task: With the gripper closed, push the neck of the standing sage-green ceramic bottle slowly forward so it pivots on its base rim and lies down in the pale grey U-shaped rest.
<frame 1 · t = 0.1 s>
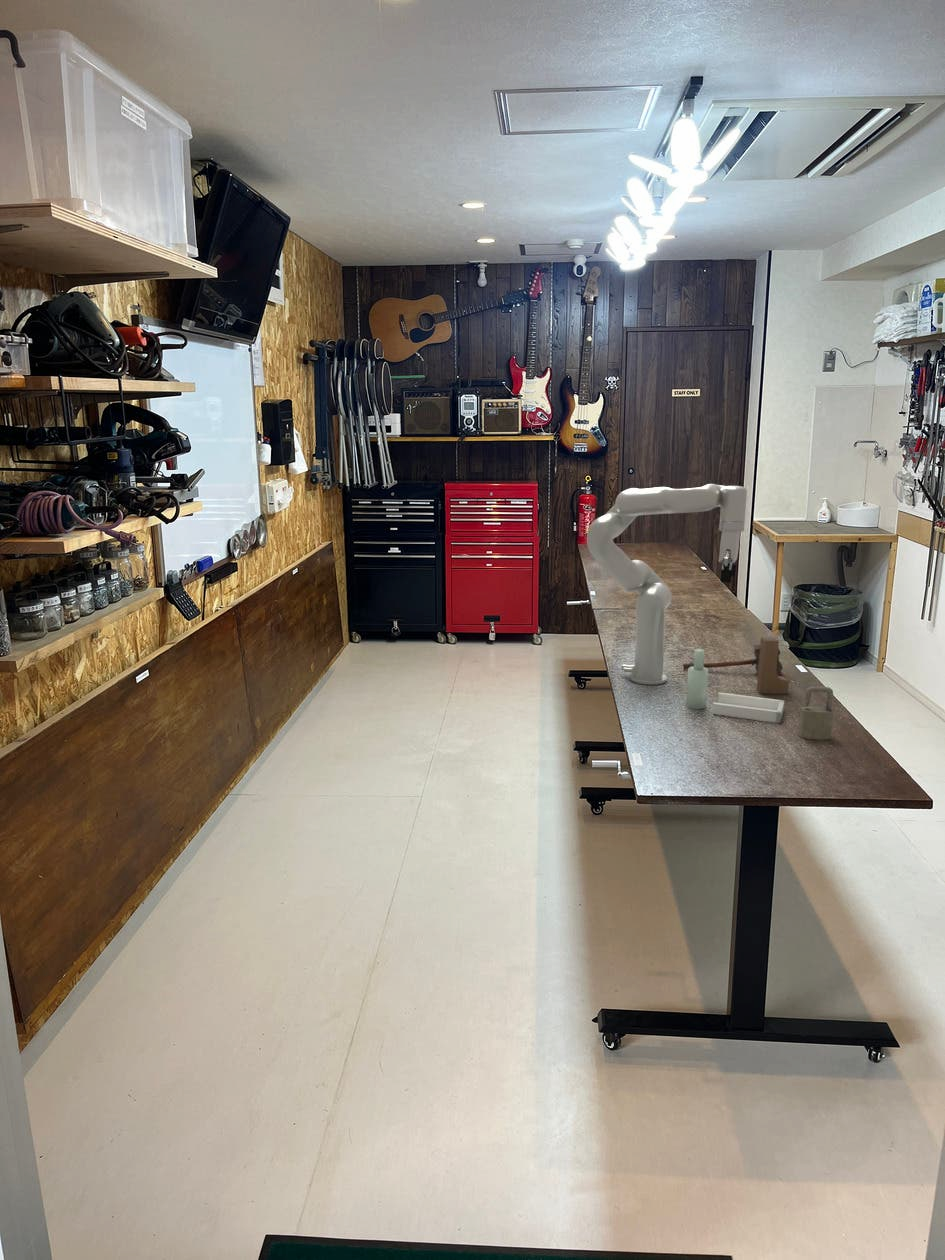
hand: (727, 579, 288), 37 cm above the table, tool pointing down, fingers open, 9 cm apart
hammer: (731, 673, 314), on the table
padlock: (814, 737, 256), on the table
wooden block: (771, 692, 294), on the table
u rest: (748, 712, 275), on the table
bottle: (695, 705, 281), on the table
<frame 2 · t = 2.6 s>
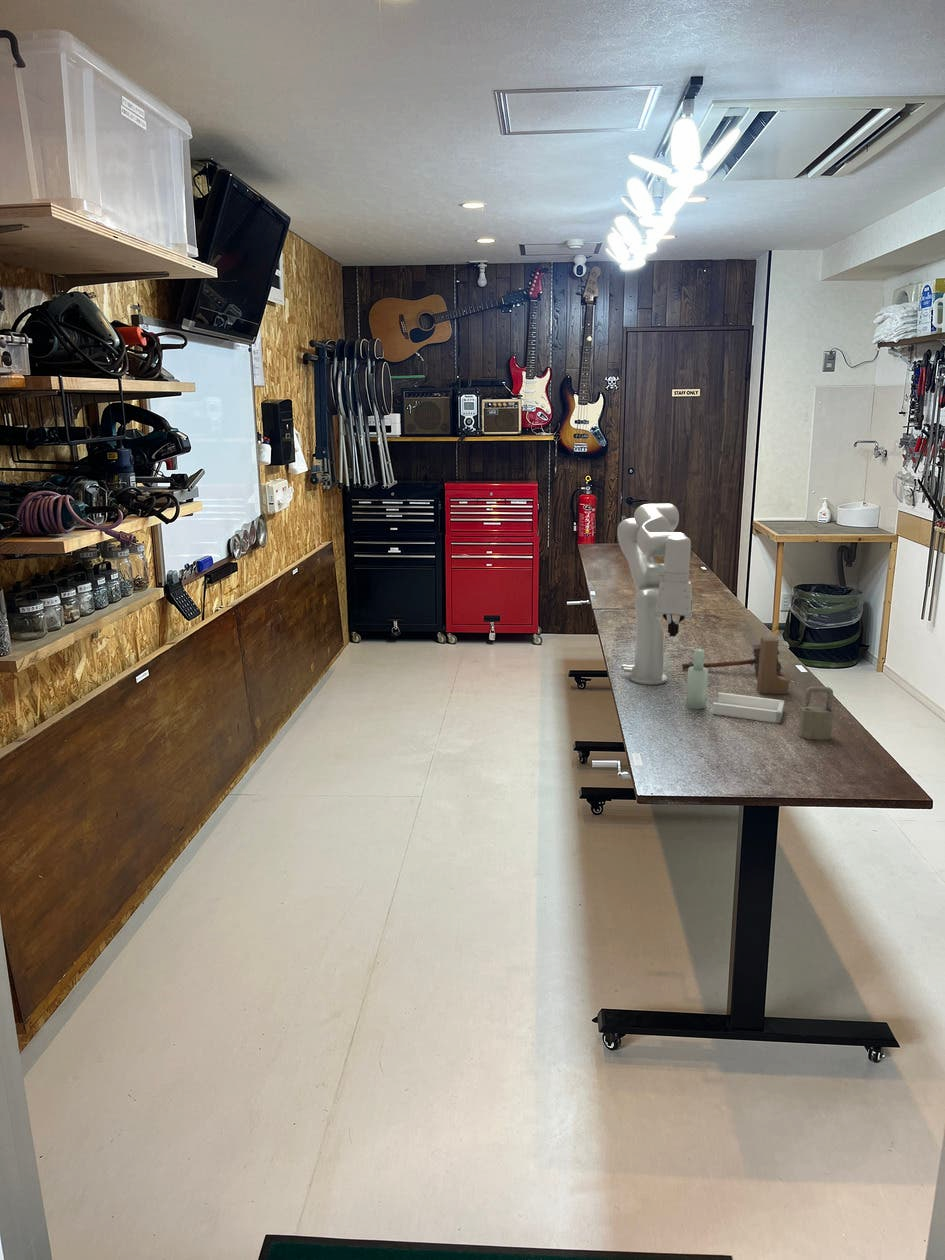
hand: (673, 635, 278), 22 cm above the table, tool pointing down, fingers closed
nothing on the table moved.
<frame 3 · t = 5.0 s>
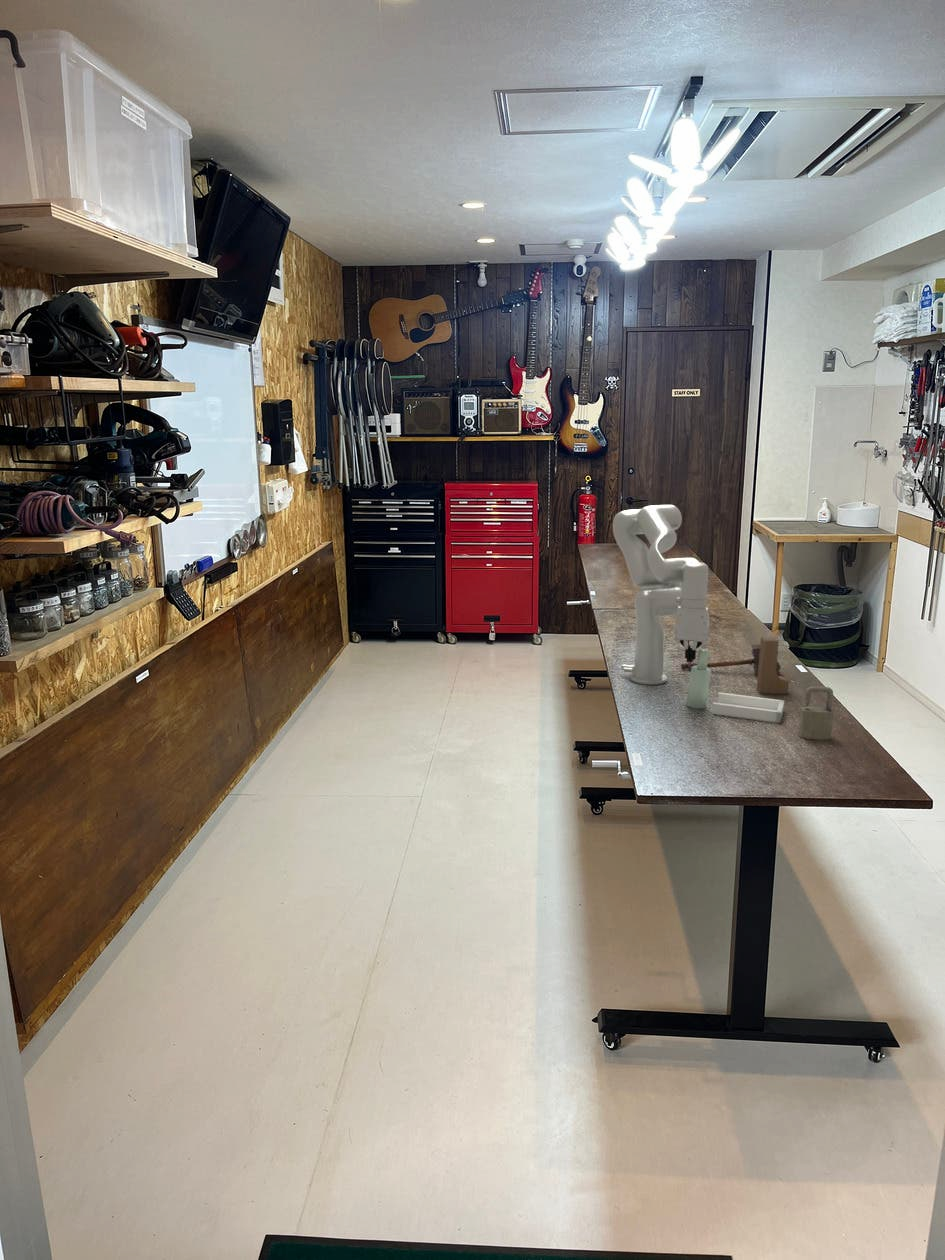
hand: (690, 661, 278), 14 cm above the table, tool pointing down, fingers closed
bottle: (695, 705, 281), on the table, touching gripper
everything else where it was.
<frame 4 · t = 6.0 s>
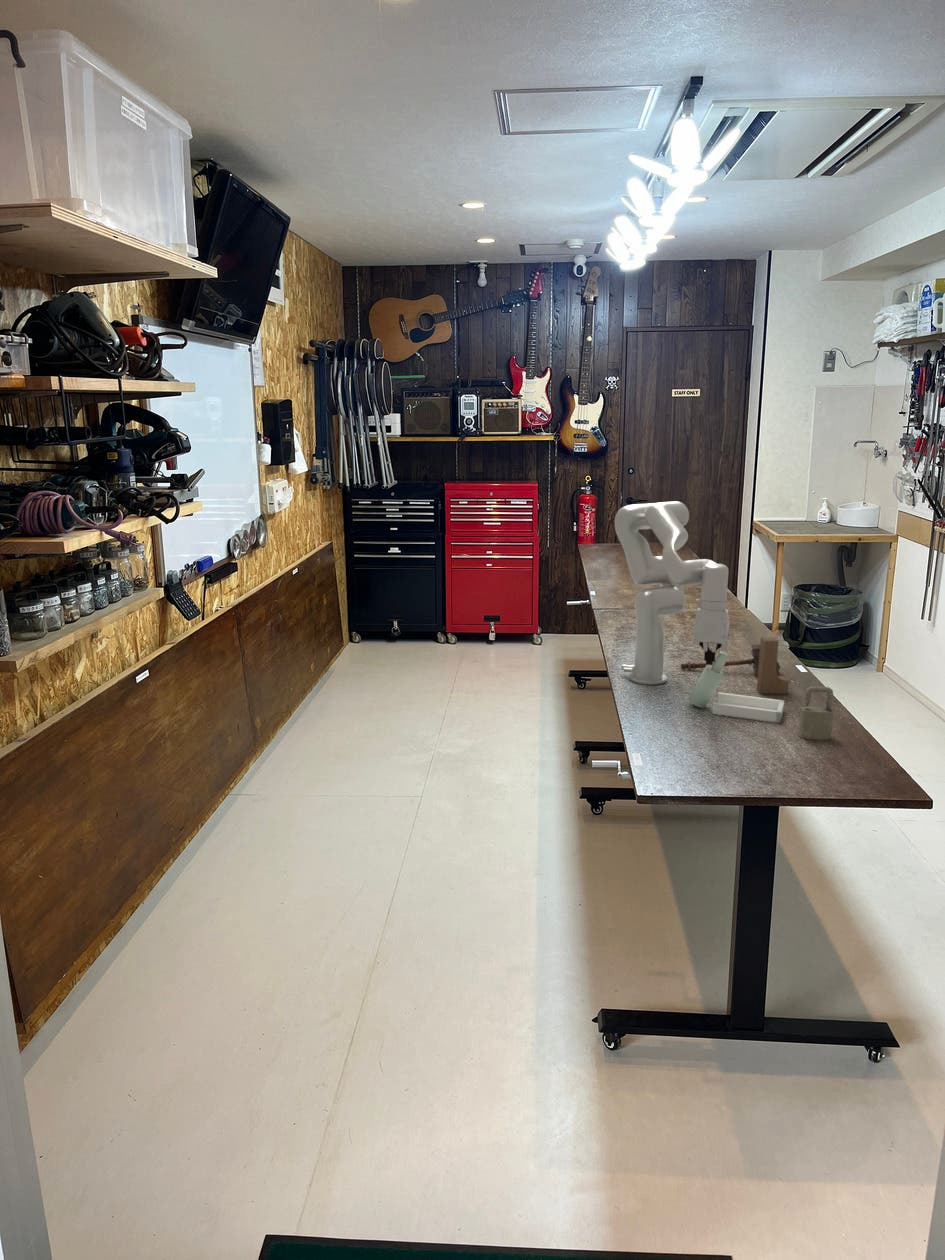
hand: (709, 663, 276), 14 cm above the table, tool pointing down, fingers closed
bottle: (696, 702, 281), point 1 cm above the table, tilted 24°
everything else where it was.
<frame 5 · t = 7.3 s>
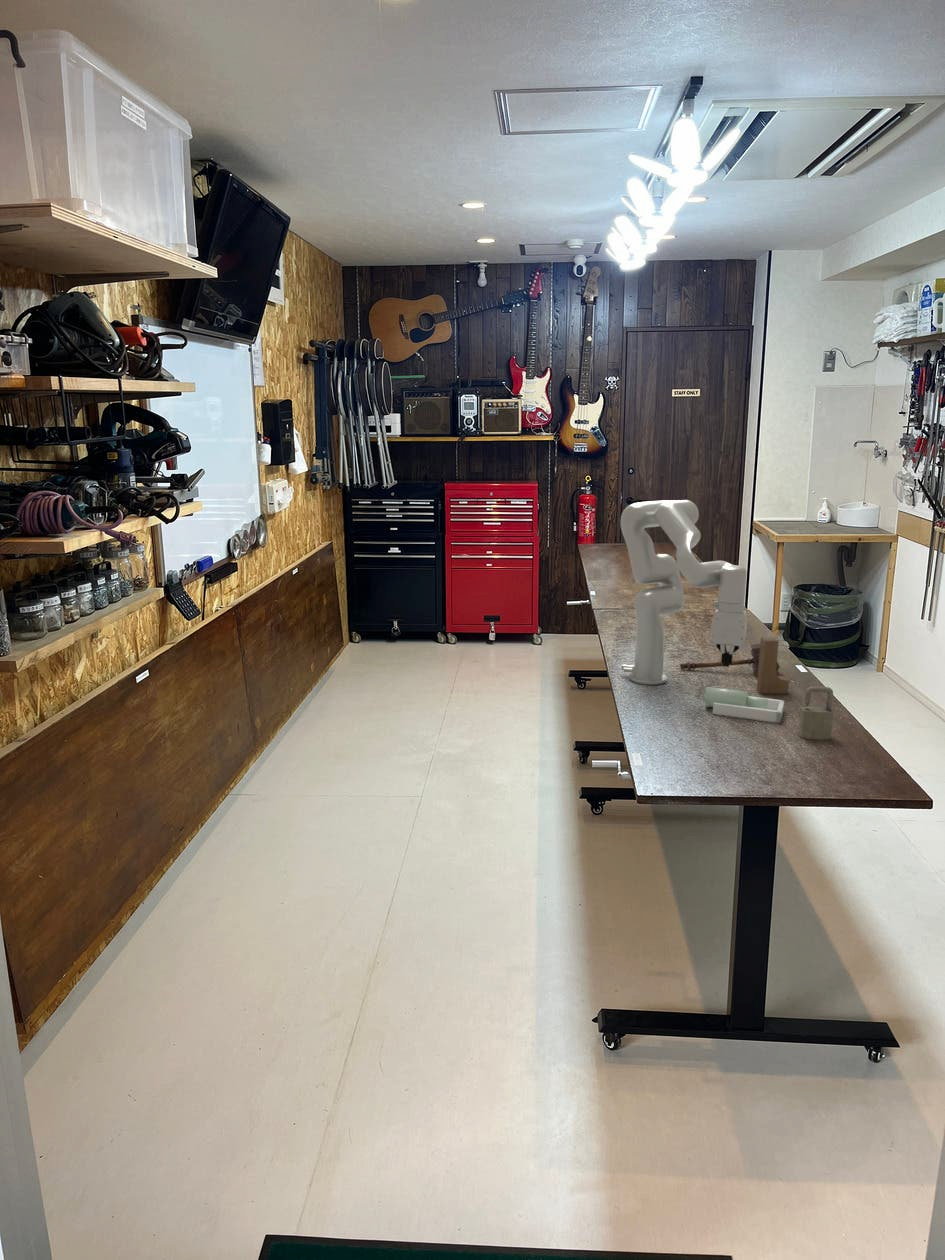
hand: (726, 665, 274), 14 cm above the table, tool pointing down, fingers closed
bottle: (706, 696, 280), point 3 cm above the table, tilted 90°, touching u rest
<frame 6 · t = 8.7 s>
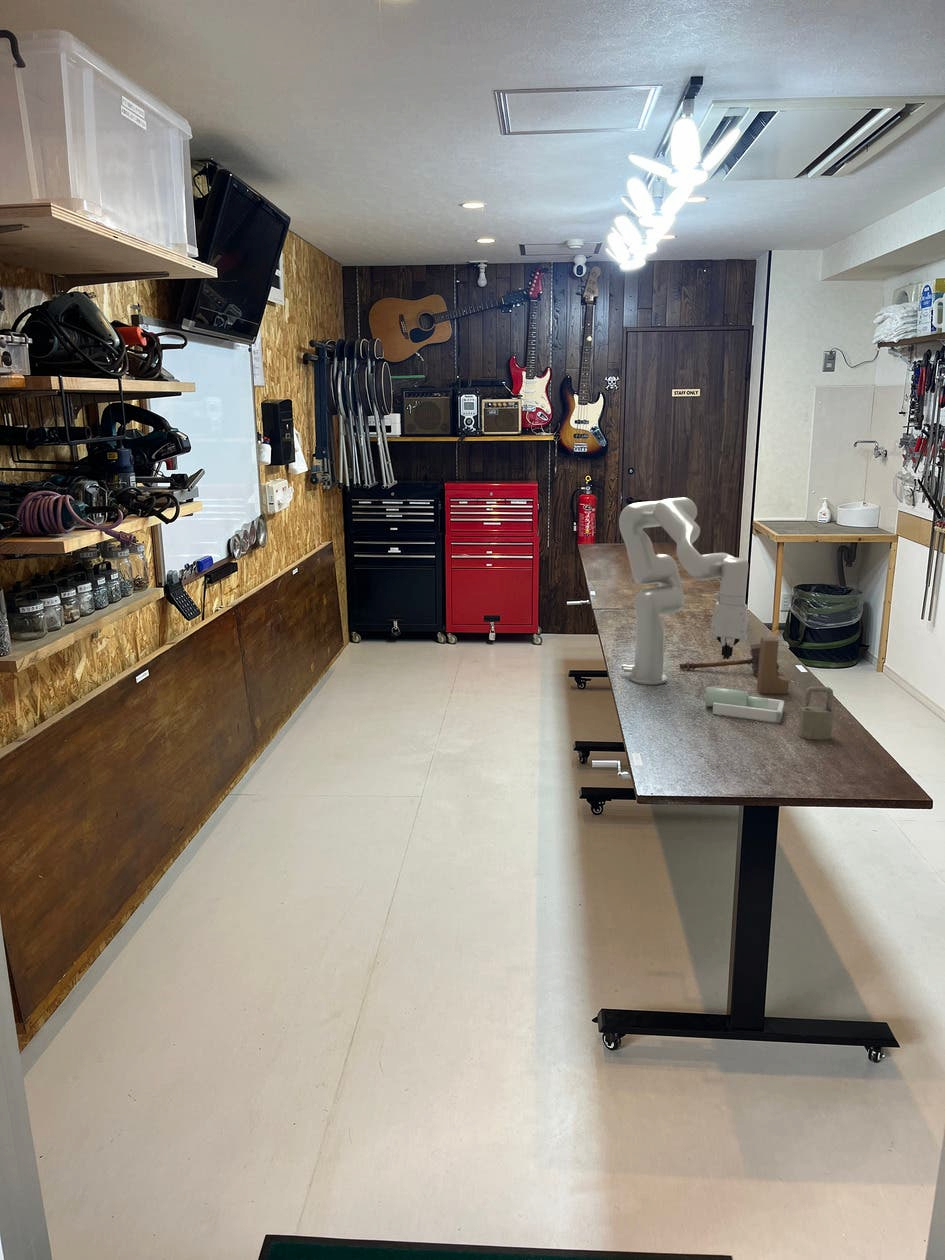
hand: (726, 657, 274), 16 cm above the table, tool pointing down, fingers closed
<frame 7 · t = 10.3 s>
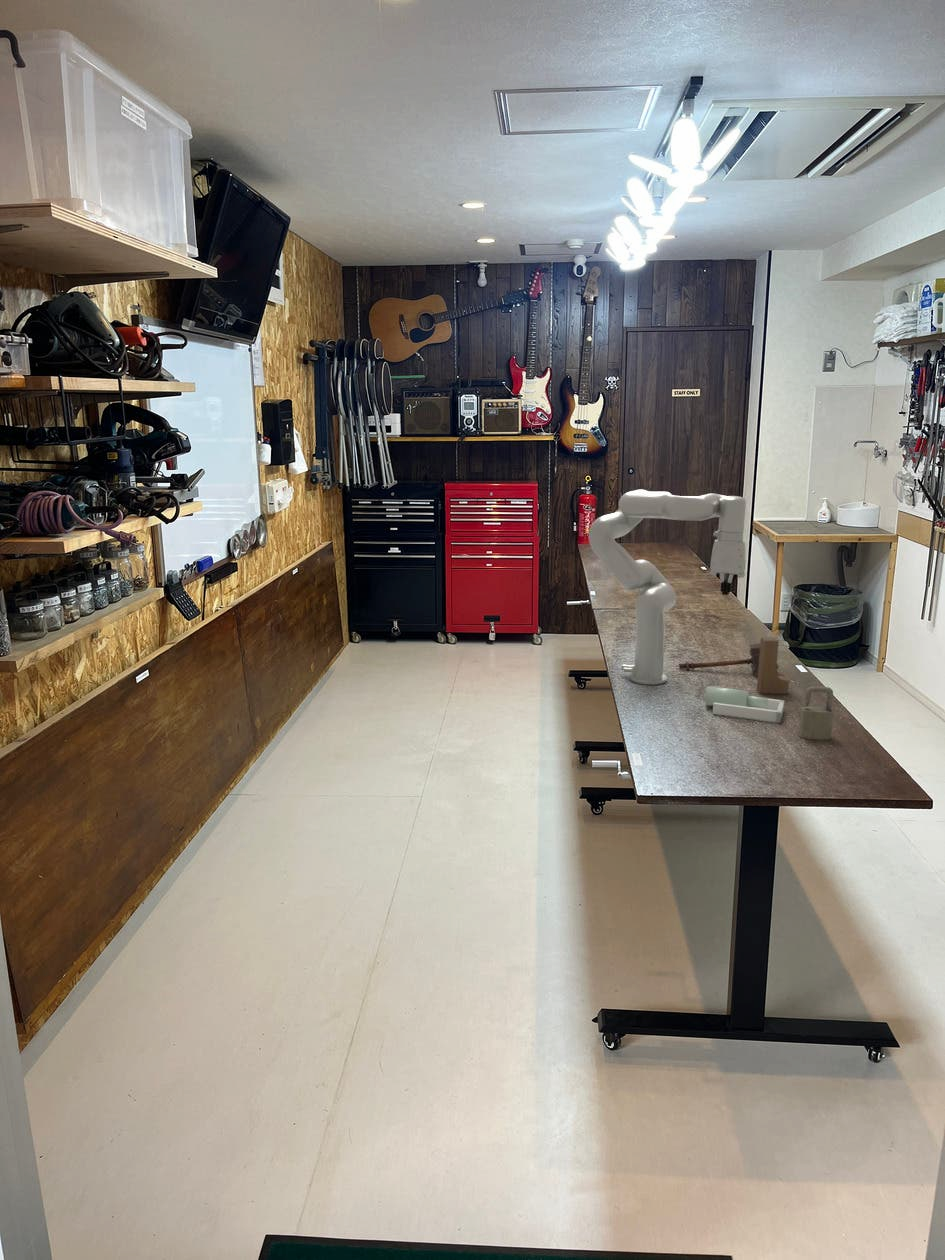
hand: (725, 594, 285), 33 cm above the table, tool pointing down, fingers closed
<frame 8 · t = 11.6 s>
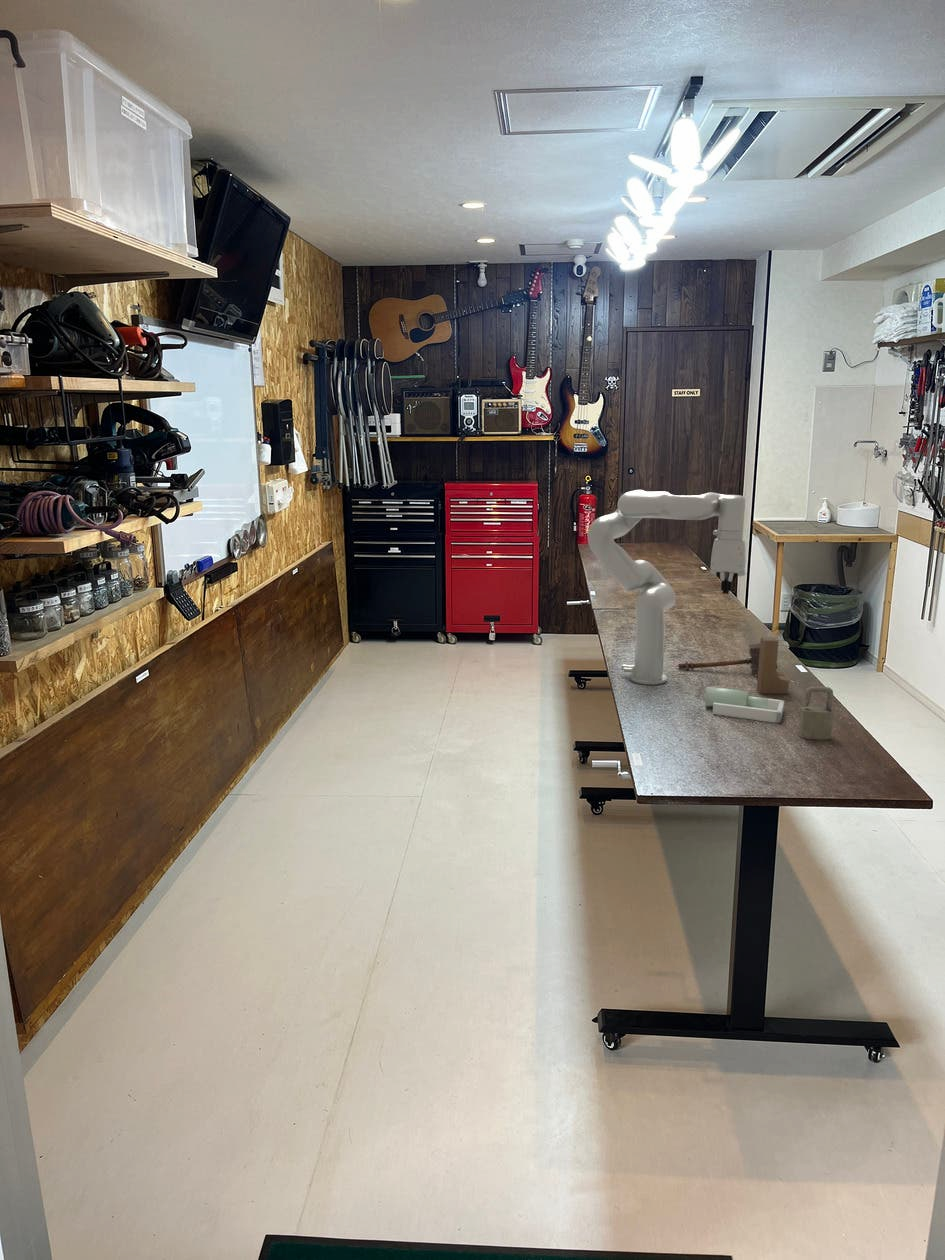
hand: (725, 592, 285), 33 cm above the table, tool pointing down, fingers closed
at the end: bottle tilted 90°; bottle inside the target area on the table beside the u rest (1.9 cm from its centre), point 3.4 cm above the table; bottle touching u rest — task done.
